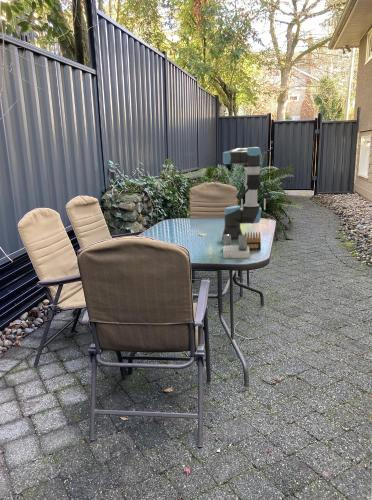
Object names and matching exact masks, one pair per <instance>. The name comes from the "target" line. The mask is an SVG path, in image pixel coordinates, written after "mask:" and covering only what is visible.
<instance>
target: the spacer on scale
mask: <svg viewBox="0 0 372 500" xmlns="http://www.w3.org/2000/svg"><path fill="white" fill-rule="evenodd" d="M247 237H248V234H247V235H245V234H243V235H239V239H238V246H239V250H240V251H246V250H247Z"/></svg>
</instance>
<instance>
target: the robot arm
mask: <svg viewBox="0 0 372 500" xmlns="http://www.w3.org/2000/svg"><path fill="white" fill-rule="evenodd" d="M222 164H224V165H236V166H237V165H238V166H240V165H241V166H242V168H243V169H244V170H245V171H244V172H245V177H244V178H245V182H241V187H240V188H239V191H238V193H237V195H236V199H238V201H239V202H238V204H239V205H232V206H227V207H226V208H224V214H223V216H224V227H223V232H222V233H221V234H222V235H221V236H222V237H221V238H222V239H223V235H225V234H230V235H231V240H239V235H244V234H243V231H242V229H241V224H243V225H244V224H252V225H253V224H259V223H260V222H261V217H262V216H261V215H262V207H261V206H260V204H259V203H258V191H259V192H260V193H261V195H262V196H263V197H264V199H263V210H264V211H266V205H268V203H269V202H268V199H270V198H271V194H270V192H269V191H268V189H267V186H266V182H265V181H262V182H260V181H261V175H260V173H261V165H263V160H262V152H261V148H260V147H259V146H253V147H251V146H250V147H237V148H232V149H230V150H228V151H223V152H222ZM260 186H262V187H263V188H264V190H265V192H266V194H267V195H266V194H265V192H264V191H263V190H262V189H261V188H260ZM244 187H245V188H244ZM243 189H245V190H244V191H243ZM242 191H243V192H242ZM241 193H242V194H241ZM243 197H245V199H244V200H245V201H244V204H243Z"/></svg>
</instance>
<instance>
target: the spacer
mask: <svg viewBox="0 0 372 500" xmlns="http://www.w3.org/2000/svg"><path fill="white" fill-rule="evenodd" d="M222 239H223V242H222V243H223V247H224V246H232V239H231V235H230V234H225V235H223V238H222Z"/></svg>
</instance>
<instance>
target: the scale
mask: <svg viewBox="0 0 372 500" xmlns="http://www.w3.org/2000/svg"><path fill="white" fill-rule="evenodd" d="M250 253H251V251H250V250H249V246H247V250H246V251H240V250H239V245H231V246H224V245H223V249H222V258H223V259H224V258H225V259H226V258H227V259H230V258H231V259H237V258H238V259H241V258H244V259H245V258H246V259H250V258H249V257H251V256H250Z"/></svg>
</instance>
